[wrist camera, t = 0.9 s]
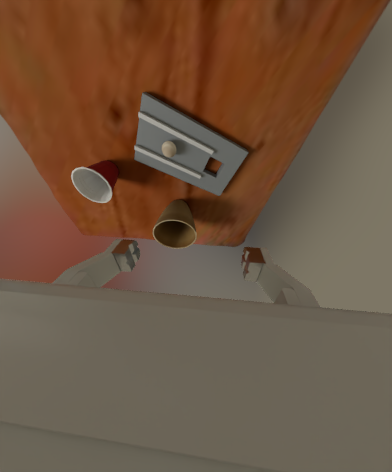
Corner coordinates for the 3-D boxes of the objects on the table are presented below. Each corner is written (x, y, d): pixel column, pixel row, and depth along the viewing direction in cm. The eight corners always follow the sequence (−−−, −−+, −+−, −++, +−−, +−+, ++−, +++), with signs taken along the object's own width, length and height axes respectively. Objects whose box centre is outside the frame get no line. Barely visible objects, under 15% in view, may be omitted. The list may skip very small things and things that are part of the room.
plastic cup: (99, 142, 44) (77, 159, 36) (132, 170, 50) (118, 189, 42) (86, 166, 49) (64, 185, 41) (117, 188, 55) (102, 208, 47)
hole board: (145, 91, 35) (140, 93, 33) (246, 149, 44) (249, 154, 41) (136, 156, 46) (133, 161, 44) (219, 192, 55) (219, 198, 52)
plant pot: (166, 221, 67) (159, 249, 57) (157, 192, 56) (146, 221, 46) (199, 219, 66) (198, 248, 55) (195, 189, 55) (193, 218, 44)
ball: (165, 135, 40) (162, 140, 37) (179, 142, 41) (177, 147, 38) (161, 150, 42) (158, 155, 40) (174, 156, 44) (172, 162, 41)
